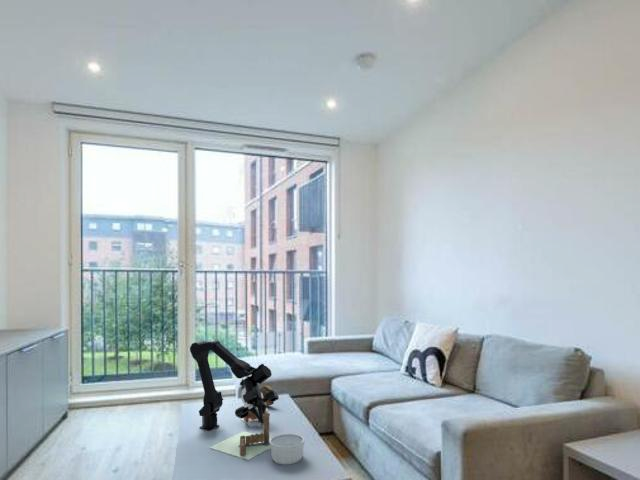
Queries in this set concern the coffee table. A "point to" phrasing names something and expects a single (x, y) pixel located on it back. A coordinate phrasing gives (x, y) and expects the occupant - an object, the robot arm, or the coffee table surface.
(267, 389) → the wooden carving
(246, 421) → the bull figurine
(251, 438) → the fence swing panel
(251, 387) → the robot arm
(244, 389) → the white rounded piece
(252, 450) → the card
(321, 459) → the coffee table surface
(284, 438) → the ramekin
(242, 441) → the fence fixed panel
